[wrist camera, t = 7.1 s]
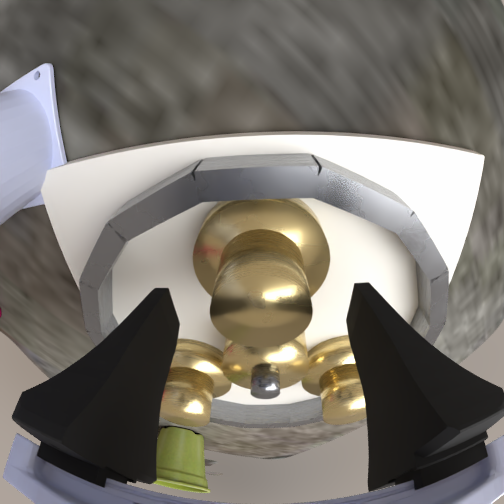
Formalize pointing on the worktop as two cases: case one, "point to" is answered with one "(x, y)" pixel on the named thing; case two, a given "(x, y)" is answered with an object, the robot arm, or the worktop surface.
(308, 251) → the gear
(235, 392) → the board
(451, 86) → the worktop surface
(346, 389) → the sun and planets
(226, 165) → the ring gear
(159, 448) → the plant pot
